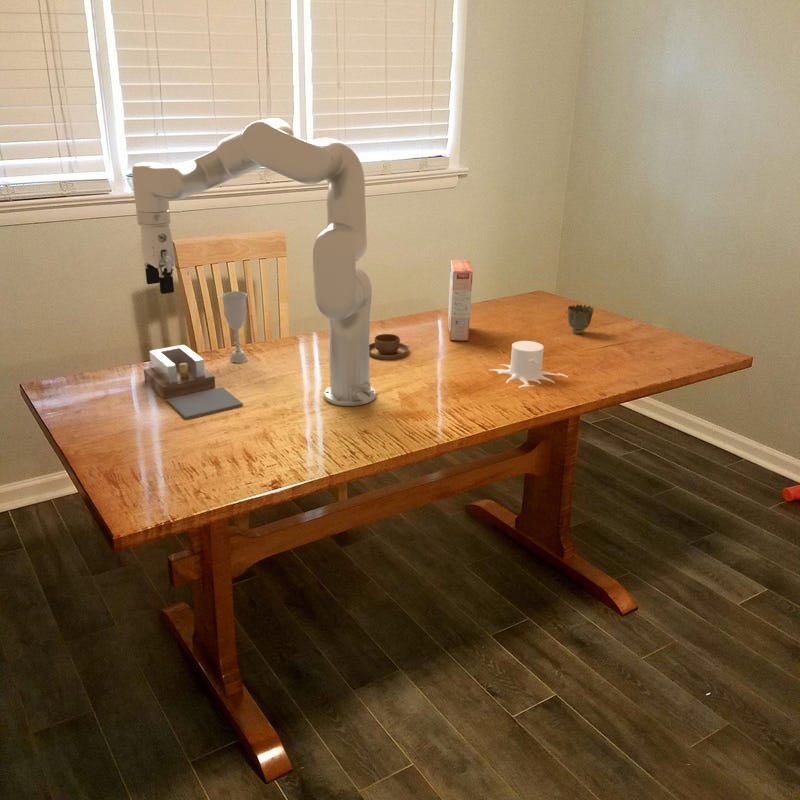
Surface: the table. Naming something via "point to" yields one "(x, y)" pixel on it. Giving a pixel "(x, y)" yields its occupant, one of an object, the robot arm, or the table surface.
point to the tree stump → (526, 363)
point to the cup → (579, 317)
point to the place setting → (387, 347)
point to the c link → (176, 362)
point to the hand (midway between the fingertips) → (160, 288)
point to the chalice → (235, 319)
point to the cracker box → (459, 300)
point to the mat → (204, 402)
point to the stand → (179, 382)
